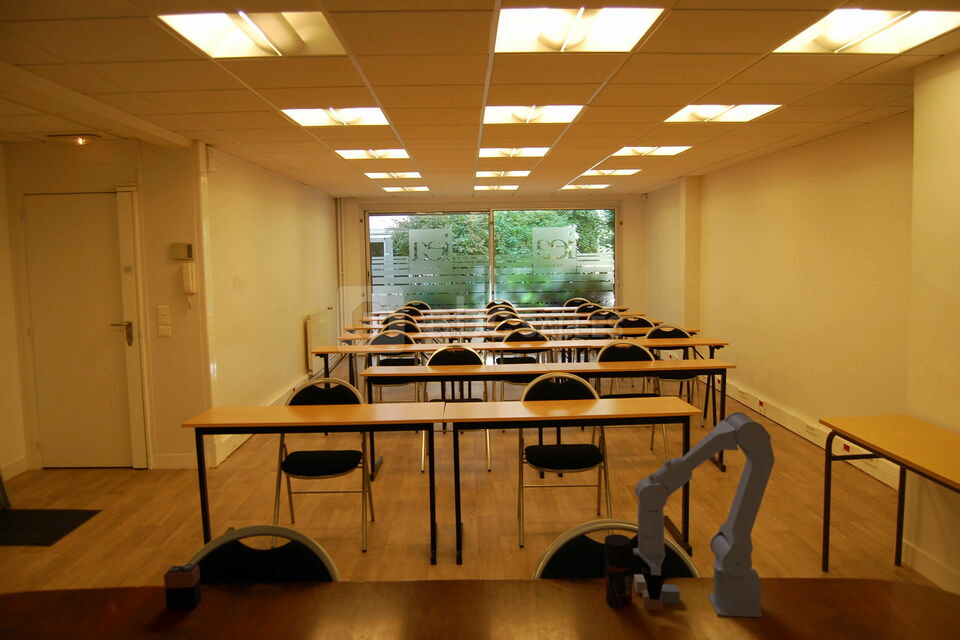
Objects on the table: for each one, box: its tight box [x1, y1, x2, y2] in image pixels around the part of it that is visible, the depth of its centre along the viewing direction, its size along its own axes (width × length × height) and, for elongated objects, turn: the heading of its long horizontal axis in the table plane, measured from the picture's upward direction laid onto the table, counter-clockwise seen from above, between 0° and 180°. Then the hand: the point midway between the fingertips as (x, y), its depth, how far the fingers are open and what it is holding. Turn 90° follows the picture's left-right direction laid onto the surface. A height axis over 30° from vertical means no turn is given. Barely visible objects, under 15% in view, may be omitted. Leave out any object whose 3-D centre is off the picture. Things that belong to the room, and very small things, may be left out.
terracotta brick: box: [641, 590, 663, 611], centre depth 131 cm, size 4×3×3 cm
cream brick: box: [633, 573, 647, 594], centre depth 138 cm, size 6×4×3 cm, turn 84°
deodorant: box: [604, 533, 633, 610], centre depth 133 cm, size 6×6×15 cm
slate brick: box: [661, 583, 681, 605], centre depth 133 cm, size 4×3×3 cm
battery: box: [163, 563, 203, 611], centre depth 139 cm, size 4×7×10 cm, turn 93°
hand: (651, 589), depth 131 cm, fingers open, 7 cm apart
